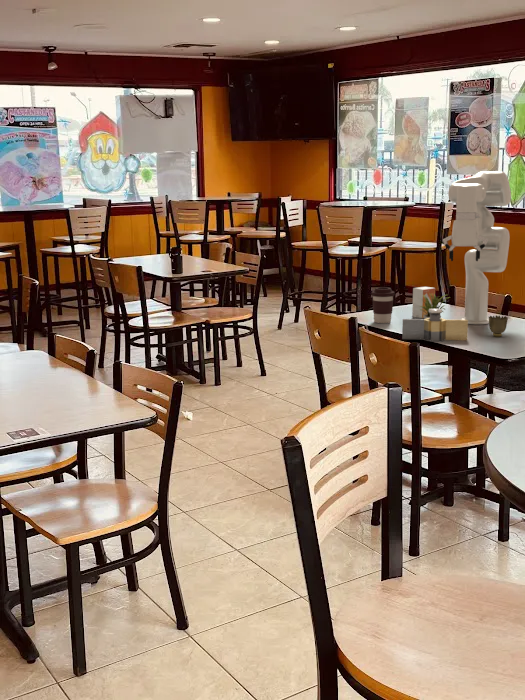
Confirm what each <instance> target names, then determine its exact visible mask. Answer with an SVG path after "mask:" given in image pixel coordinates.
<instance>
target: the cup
mask: <svg viewBox="0 0 525 700" xmlns="http://www.w3.org/2000/svg"><path fill="white" fill-rule="evenodd" d="M488 319H489V323H488V327H489V331H490V332H491V333H492V337H495V338H502V336H503V333H505V331H506V329H507V324H508V319H509V318H508V317H507V316H506V315H505V316H503V315H502V316H500V315H493V316H492V315H489V316H488Z"/></svg>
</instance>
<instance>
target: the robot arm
mask: <svg viewBox="0 0 525 700" xmlns="http://www.w3.org/2000/svg"><path fill="white" fill-rule="evenodd" d="M510 186H511V185H510V182H509V178H508V175H507V174H506V172H504V171H501V170H500V171H499V170H495V171H494V170H493V171H489V170H488V171H487V170H482V171H479V172H476V173H475V174H474V175H473V176H470V177H467V178H462V179H458V180H455V181H453V182H452V183H451V185H450V186H449V188H448V193H447V194H448V199H449V201H450V202H451V203H454V204H455V203H456V209H455V210H456V213H455V214H456V215H455V220H453V223H452V231H451V235H449V236H446V237H445V238H443V239H442V243H443V244H444V246H445V248H446V249H448V252H449V255H448V258H449V260H450V261H451V262H453V261H454V248H456V247H473V248H474V249H473V248H472V249H469V250H468V251H467V252H465V254H464V268H465V297H464V300H465V301H464V317H462V318H460V320H468V325H489V317H488V306H489V305H488V303H489V279H488V278H487V276H486V275H485V274H484V273H502V272H504V271H505V270H506V267H507V264H508V256H509V247H510V239H511V238H510V236H511V235H510V231H509V229H507V227H501V226H494V224H495V217H494V215H493V213H492V212H491V210H489V208H488V207H505V206H508V205H509V204H510V202H511V200H512V192H511V187H510ZM450 240H451V245H449V244H448V241H450Z"/></svg>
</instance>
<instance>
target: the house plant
mask: <svg viewBox="0 0 525 700" xmlns="http://www.w3.org/2000/svg"><path fill="white" fill-rule="evenodd" d="M429 294H430V293H429ZM430 295H431V294H430ZM448 295H449V294H448V293H447V294H443V295H442V296H440V298H439V296H437V295H436V293H435V294H434V299H433V297H432V296H431V299H432V305H431V303H430V302H429V300H428V298H427V297H425V296H424V295H423V296H424V298H425V300H426V302H424V301H423V300H422V299H421V300H422V301H423V302H424V303H425V306H424V307H423V306H420V307H422V308H424V309H425V310H426V311H427V313H428V315H424V318H423V319H427V318H430V313H429V309H434V308H435V309H442V313H444V310H445V311H446V308H445V306H446V304H444V305H443V303H444V302H445V301H446V300H448V299H449V298H451V297H450V296H449V297H446V296H448ZM445 297H446V298H445ZM441 305H442V306H441ZM425 307H426V308H425ZM419 310H422V309H419ZM423 311H424V310H423ZM424 312H425V311H424ZM425 313H426V312H425ZM427 313H426V314H427ZM440 318H442V316H441V315H440Z"/></svg>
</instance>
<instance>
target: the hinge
mask: <svg viewBox="0 0 525 700" xmlns="http://www.w3.org/2000/svg"><path fill="white" fill-rule="evenodd" d="M468 328H469V324H468V320H461V319H445V318H443V317H441V318H440V321H430V318H427V319H424V318H417V319H416V318H403V319H402V331H401V334H402V336H401V339H402V340H421V341H422V340H424V341H426V342H431V343H432V342H434V343H435V342H437V343H439V342H444V341H468V330H469V329H468Z"/></svg>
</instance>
